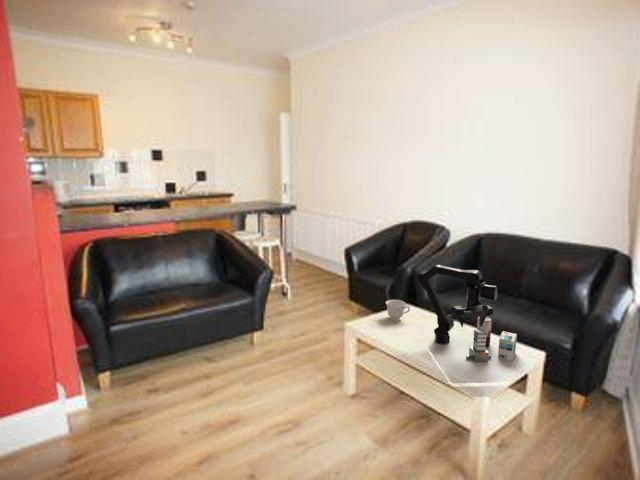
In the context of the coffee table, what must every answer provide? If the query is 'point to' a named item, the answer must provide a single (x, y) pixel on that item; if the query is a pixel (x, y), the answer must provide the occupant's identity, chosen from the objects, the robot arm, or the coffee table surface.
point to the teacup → (396, 309)
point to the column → (479, 340)
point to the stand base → (478, 355)
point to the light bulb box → (507, 345)
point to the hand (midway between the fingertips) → (471, 326)
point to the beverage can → (486, 329)
